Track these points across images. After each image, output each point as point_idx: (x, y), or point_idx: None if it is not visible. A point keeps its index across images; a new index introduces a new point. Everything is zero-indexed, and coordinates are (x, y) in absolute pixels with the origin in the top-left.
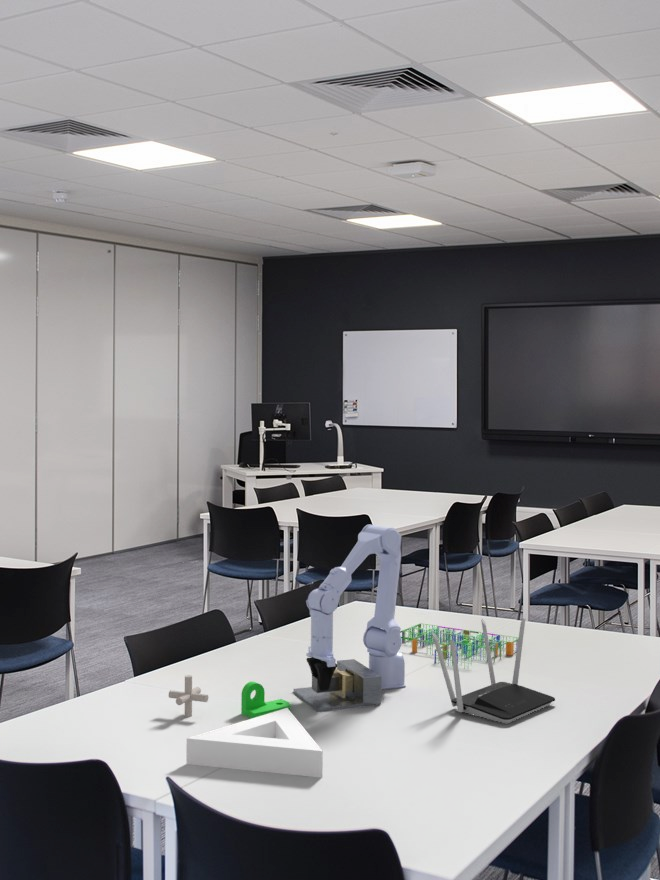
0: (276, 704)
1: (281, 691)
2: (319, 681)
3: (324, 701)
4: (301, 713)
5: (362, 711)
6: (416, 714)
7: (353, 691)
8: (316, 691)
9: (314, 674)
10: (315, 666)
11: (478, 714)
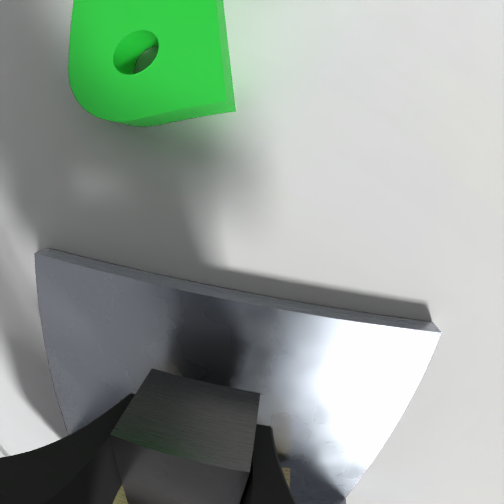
0: (131, 29)
1: (486, 272)
2: (106, 427)
3: (119, 353)
4: (61, 165)
5: (38, 395)
6: (19, 450)
7: None
8: (164, 376)
9: (251, 488)
10: (30, 501)
11: None
